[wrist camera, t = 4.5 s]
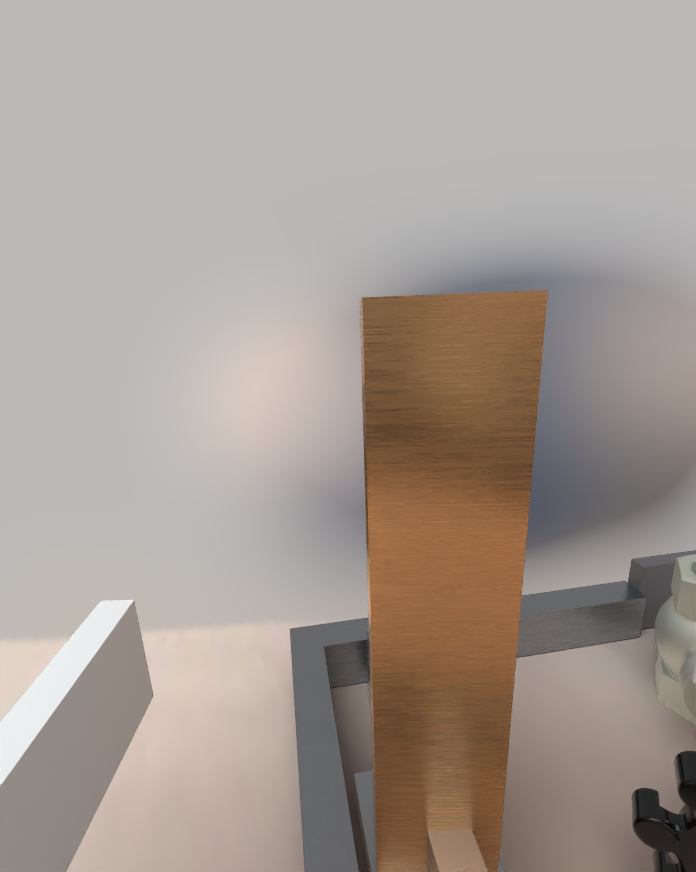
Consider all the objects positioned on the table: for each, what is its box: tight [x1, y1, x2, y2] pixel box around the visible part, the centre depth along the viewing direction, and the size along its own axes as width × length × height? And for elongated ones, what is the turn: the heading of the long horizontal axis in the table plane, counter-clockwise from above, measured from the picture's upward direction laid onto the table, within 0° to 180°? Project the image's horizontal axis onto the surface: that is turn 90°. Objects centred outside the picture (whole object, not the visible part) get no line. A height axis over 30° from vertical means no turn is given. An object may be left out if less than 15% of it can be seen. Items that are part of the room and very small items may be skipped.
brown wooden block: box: [354, 290, 548, 872], centre depth 13 cm, size 13×4×18 cm, turn 9°
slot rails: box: [290, 581, 646, 872], centre depth 15 cm, size 18×18×2 cm
